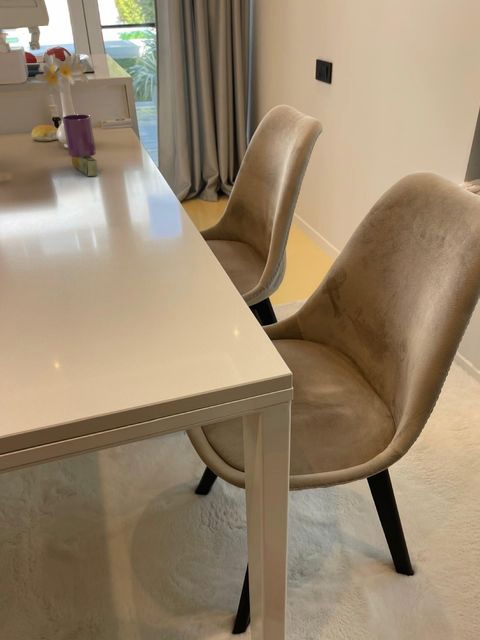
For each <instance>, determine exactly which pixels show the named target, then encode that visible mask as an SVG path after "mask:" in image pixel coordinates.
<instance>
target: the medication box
mask: <svg viewBox="0 0 480 640" xmlns="http://www.w3.org/2000/svg"><path fill="white" fill-rule="evenodd" d="M71 165H72V166H74V167H75V169H76V170H78V171H80V172H81V173H82V174H84V175H85V176H86V177H97V176H98V161H97V159H96V158H93V156H89V157H71Z"/></svg>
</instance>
